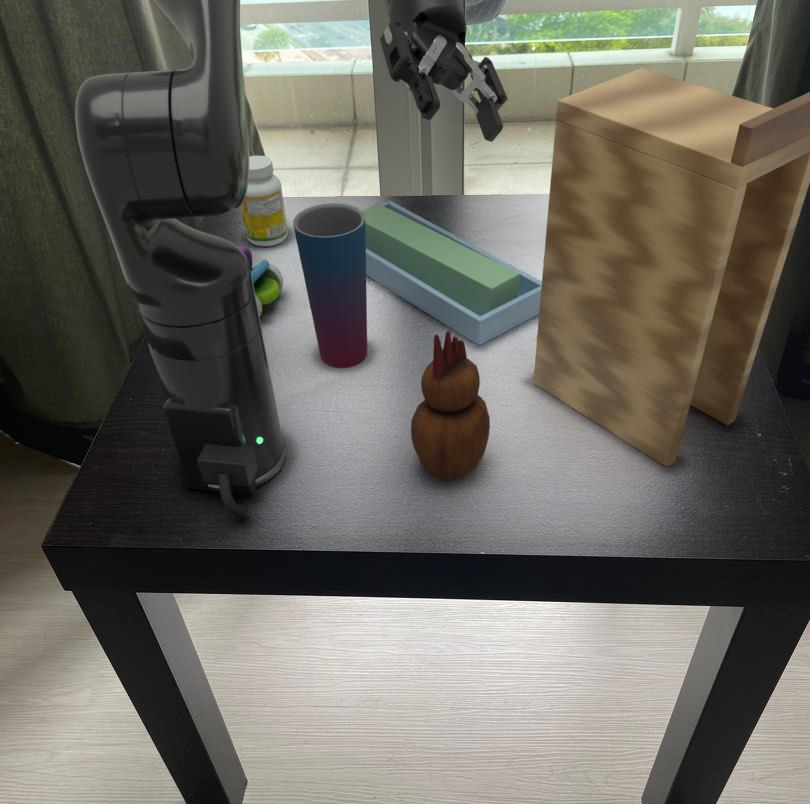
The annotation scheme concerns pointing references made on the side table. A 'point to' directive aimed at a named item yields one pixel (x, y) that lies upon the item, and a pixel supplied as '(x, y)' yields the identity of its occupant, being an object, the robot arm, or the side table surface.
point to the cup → (335, 279)
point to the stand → (664, 250)
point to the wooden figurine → (450, 414)
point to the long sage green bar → (439, 261)
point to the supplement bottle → (264, 205)
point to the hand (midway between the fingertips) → (464, 124)
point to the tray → (446, 308)
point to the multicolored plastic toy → (264, 280)
